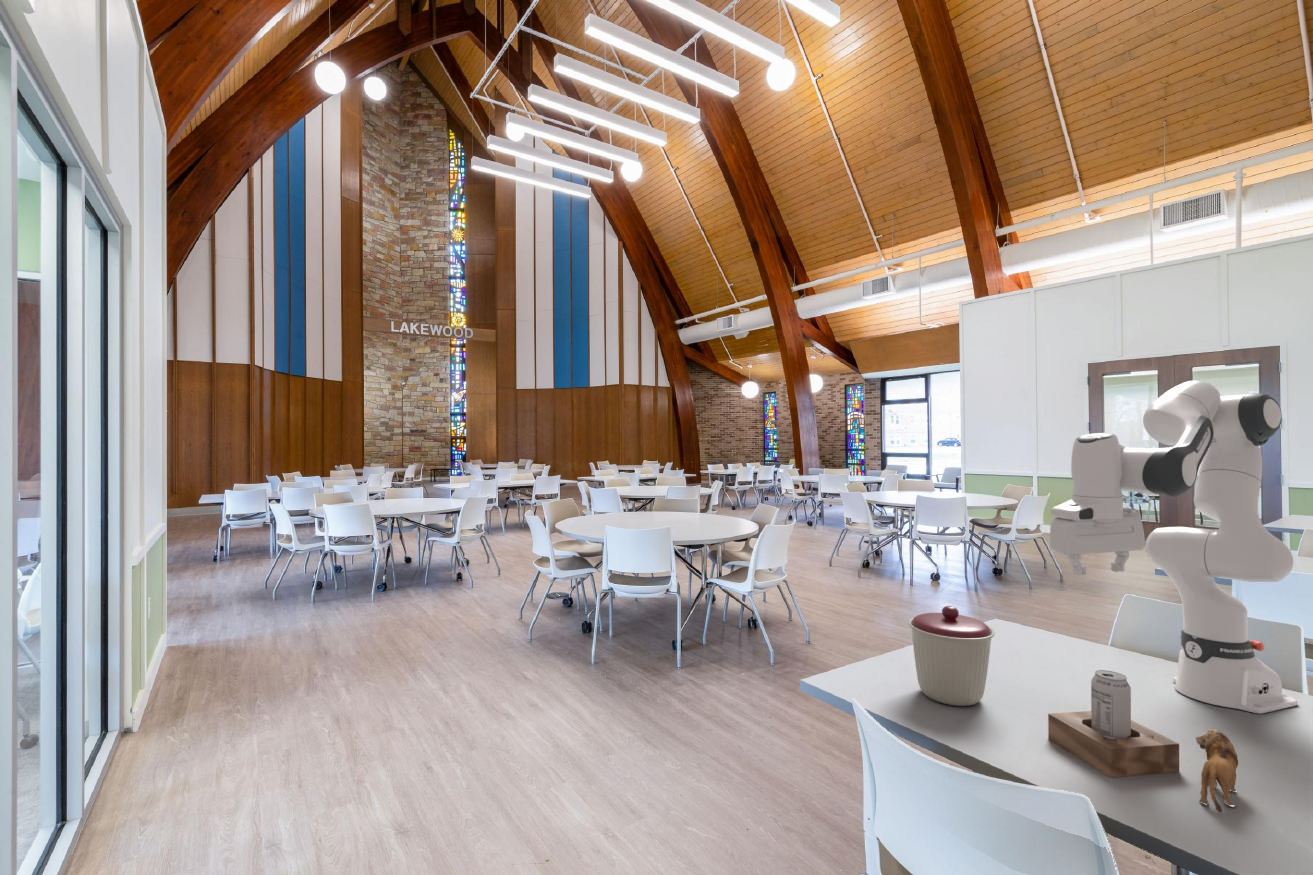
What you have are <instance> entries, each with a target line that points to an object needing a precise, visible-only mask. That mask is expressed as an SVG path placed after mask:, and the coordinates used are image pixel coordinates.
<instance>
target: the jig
mask: <svg viewBox="0 0 1313 875" xmlns="http://www.w3.org/2000/svg"><path fill="white" fill-rule="evenodd" d="M1047 719H1048V722H1047V723H1048V724H1047V725H1048V728H1047V731H1048V732H1047V734H1048V735H1047V736H1048V738H1047V739H1048V740H1049V741H1051V742H1052V743H1054V744H1056V745H1057V746H1059V747H1060V748H1063V749H1064V750H1066V752H1068V753H1071V754H1072V755H1074V756H1075V757H1076V758H1079V759H1080V760H1082V761H1083V762H1085V763H1086V764H1088V765H1089V766H1091V767H1094V769H1097V770H1098V771H1100V772H1101V773H1102V774H1105V775H1106V776H1107V777H1110V778H1120V777H1132V776H1144V775H1154V774H1155V775H1157V774H1167V773H1169V774H1170V773H1177V772H1180V743H1179V742H1177V741H1175V740H1172V739H1170V738H1169V737H1167V736H1164V735H1163V734H1160V733H1158V732H1156V731H1154V730H1153V729H1150V728H1148V727H1146V726H1145V725H1143V724H1140V723H1138V722H1136V721H1134V720H1132V719H1131V738H1118V739H1117V738H1113V737H1109V736H1104V735H1102V734H1100V733H1099V732H1097V731H1095V730H1093V729H1091V710H1087V711H1085V710H1084V711H1072V712H1070V711H1069V712H1056V713H1055V712H1053V713H1048V716H1047Z"/></svg>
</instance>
